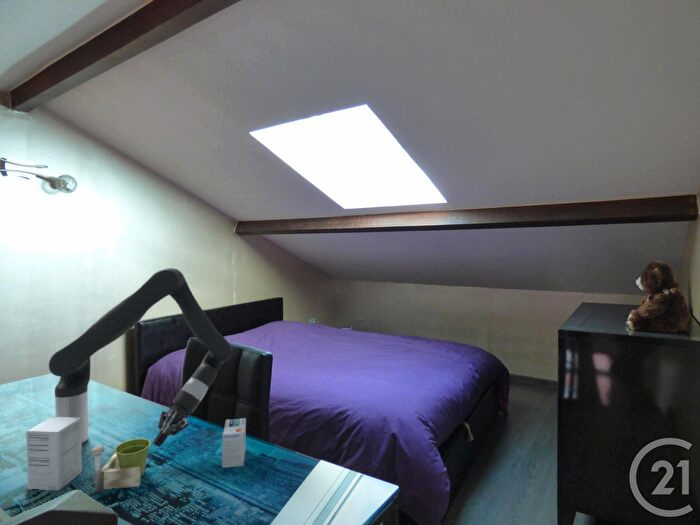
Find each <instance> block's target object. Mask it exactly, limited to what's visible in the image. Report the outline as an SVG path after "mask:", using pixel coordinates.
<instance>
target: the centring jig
mask: <svg viewBox="0 0 700 525" xmlns="http://www.w3.org/2000/svg"><path fill="white" fill-rule="evenodd" d="M105 447H106V446H103V445H98V446H97V445H96V446H94V447H92V448H91V449H90V454H91V456H92V455H94V457H93V458H94V460H93V461H94V463H93V464H94V492H95V493H99V492H102V491H103V490H113V489H112V488H115V489H123V488H125V489H126V488H134V487H135V488H136V487H140V485H141V476H140V467H131V468H120V466H119V460H118V457H117V454H116V453H115V452H114V453H113V455H112V456H111V457H110V458H109V460H108V461H107V462H106V464H105V465H104V466H103V467H102V453H104V452H105V449H106V448H105Z"/></svg>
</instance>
